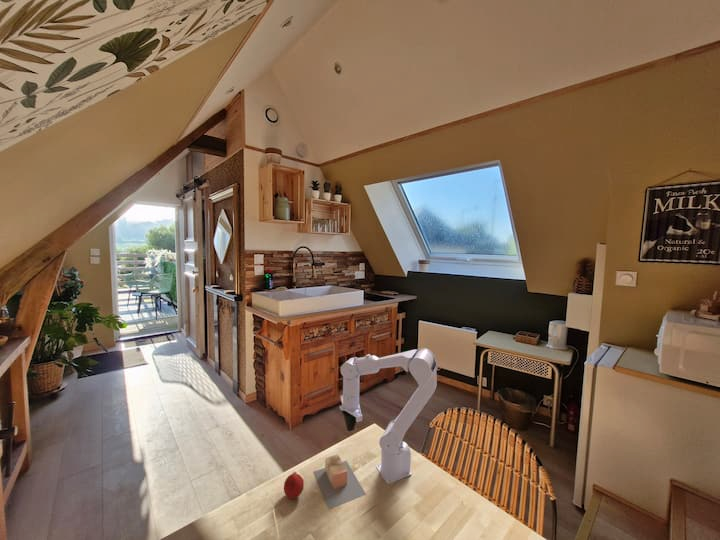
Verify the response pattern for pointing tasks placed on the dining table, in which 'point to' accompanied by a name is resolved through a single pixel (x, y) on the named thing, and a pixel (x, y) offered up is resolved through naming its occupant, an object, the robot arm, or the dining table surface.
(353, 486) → the mat
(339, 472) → the beech block
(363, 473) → the dining table surface
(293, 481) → the onion
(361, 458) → the dining table surface
